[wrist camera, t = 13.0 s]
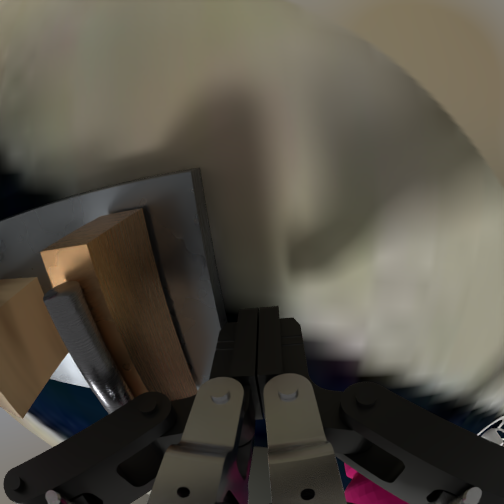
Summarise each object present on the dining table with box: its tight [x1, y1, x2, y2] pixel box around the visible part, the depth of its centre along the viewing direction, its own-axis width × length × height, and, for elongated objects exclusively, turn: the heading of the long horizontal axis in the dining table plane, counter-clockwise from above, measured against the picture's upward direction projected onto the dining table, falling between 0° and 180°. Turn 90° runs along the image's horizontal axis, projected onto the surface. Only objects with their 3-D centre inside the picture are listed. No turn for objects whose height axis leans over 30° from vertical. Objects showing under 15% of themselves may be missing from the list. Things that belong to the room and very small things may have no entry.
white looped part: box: [477, 416, 504, 446], centre depth 20 cm, size 9×8×4 cm
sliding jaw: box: [40, 208, 198, 414], centre depth 9 cm, size 2×10×5 cm, turn 7°
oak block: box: [0, 277, 69, 419], centre depth 10 cm, size 5×5×6 cm
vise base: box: [0, 168, 228, 390], centre depth 11 cm, size 20×12×6 cm, turn 97°
